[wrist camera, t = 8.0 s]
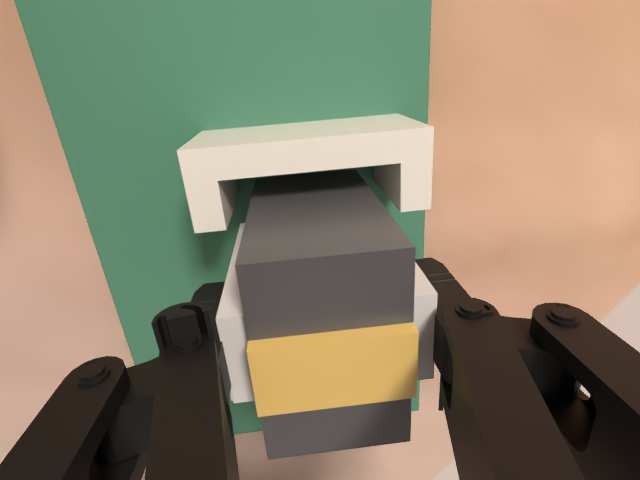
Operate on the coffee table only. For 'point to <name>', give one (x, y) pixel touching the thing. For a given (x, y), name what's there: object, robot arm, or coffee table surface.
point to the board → (225, 126)
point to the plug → (327, 314)
